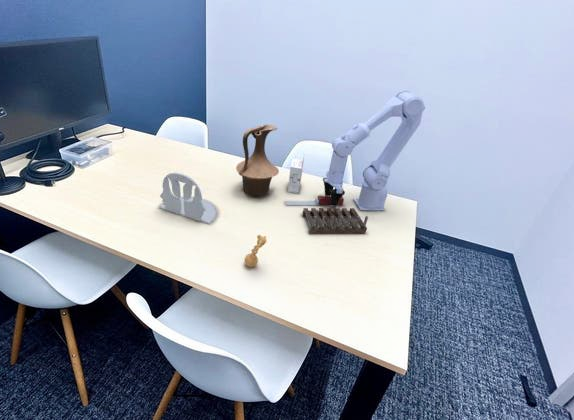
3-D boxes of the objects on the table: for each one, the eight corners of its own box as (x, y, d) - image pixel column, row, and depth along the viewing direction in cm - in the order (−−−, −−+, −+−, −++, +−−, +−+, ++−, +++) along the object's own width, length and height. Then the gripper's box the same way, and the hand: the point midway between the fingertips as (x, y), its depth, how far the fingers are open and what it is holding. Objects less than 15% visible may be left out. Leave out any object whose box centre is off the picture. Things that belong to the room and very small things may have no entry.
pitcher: (253, 206, 128) (258, 136, 113) (226, 189, 139) (227, 123, 124) (284, 193, 139) (292, 127, 124) (256, 178, 149) (261, 116, 134)
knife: (340, 202, 135) (342, 195, 133) (342, 205, 132) (344, 199, 131) (285, 202, 133) (286, 195, 131) (286, 205, 130) (287, 199, 129)
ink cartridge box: (288, 182, 147) (293, 151, 139) (300, 184, 146) (305, 153, 138) (287, 192, 140) (291, 159, 132) (298, 193, 139) (303, 161, 131)
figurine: (250, 255, 104) (252, 223, 97) (268, 261, 102) (271, 229, 96) (239, 271, 97) (240, 239, 91) (258, 278, 95) (261, 245, 89)
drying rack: (352, 214, 127) (357, 198, 124) (365, 234, 117) (370, 218, 113) (301, 214, 126) (304, 198, 122) (310, 234, 115) (313, 218, 111)
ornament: (158, 208, 124) (153, 167, 115) (178, 193, 134) (176, 154, 125) (209, 224, 117) (208, 182, 108) (226, 207, 127) (227, 167, 118)
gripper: (321, 161, 131) (315, 191, 138) (332, 178, 118) (325, 210, 126) (338, 161, 131) (332, 191, 139) (351, 178, 119) (343, 210, 126)
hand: (330, 200), depth 132 cm, fingers open, 7 cm apart
